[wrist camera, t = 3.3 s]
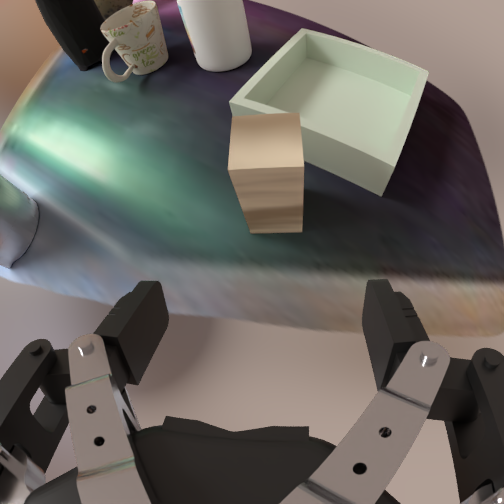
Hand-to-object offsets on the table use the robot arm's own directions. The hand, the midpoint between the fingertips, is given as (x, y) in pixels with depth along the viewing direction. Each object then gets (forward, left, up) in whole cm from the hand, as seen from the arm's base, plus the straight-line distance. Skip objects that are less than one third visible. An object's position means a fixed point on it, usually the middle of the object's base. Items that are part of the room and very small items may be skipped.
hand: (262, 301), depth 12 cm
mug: (+21, +35, -14) cm, 43 cm away
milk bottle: (+27, +24, -14) cm, 38 cm away
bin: (+23, +6, -14) cm, 27 cm away
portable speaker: (+23, +51, -14) cm, 57 cm away
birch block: (+9, +6, -14) cm, 17 cm away
